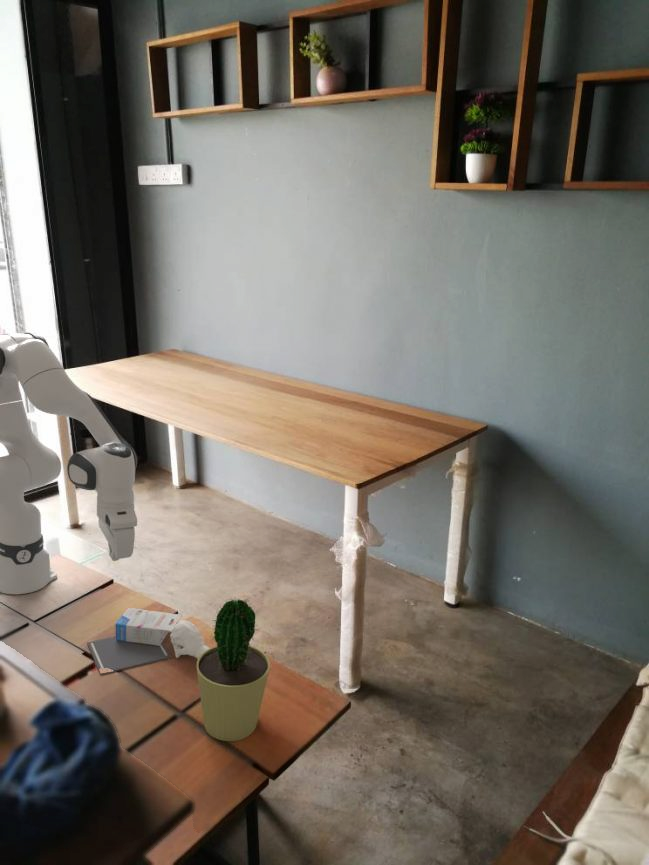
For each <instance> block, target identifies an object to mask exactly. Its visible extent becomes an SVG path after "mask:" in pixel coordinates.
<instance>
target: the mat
mask: <svg viewBox="0 0 649 865" xmlns="http://www.w3.org/2000/svg"><path fill="white" fill-rule="evenodd" d="M86 645H87V646H88V650H89V652H90V653H91V656H92V658H93V661H94V663H95V665H96V668H97V670H98V671H99V669H100V668H109V669H111V670H113V671H114V672H119V671H122V670H127V669H131V668H135V667H138V666H143V665H148V664H152V663H155V662H160V661H164V660H168V659H172V656H171V654H170V652H169V650H168V649H167V647H166V646H165V644H164V643H163V641H162V643H161V644H160V646H157V645H150V644H142V643H135V642H127V641H119V640H116V635H115V636H111V637H106V638H102V639H96V640H93V641H88V642H87V643H86ZM114 672H113V673H114Z"/></svg>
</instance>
